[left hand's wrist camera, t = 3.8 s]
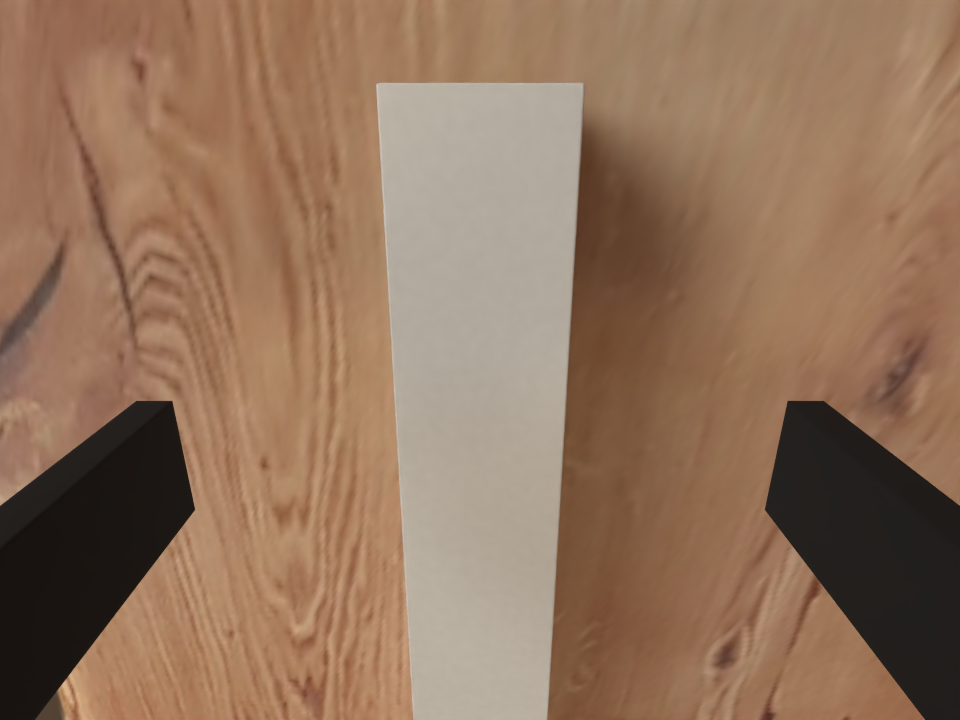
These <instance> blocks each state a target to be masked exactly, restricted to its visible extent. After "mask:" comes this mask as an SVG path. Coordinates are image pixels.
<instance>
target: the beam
mask: <svg viewBox="0 0 960 720" xmlns="http://www.w3.org/2000/svg"><path fill="white" fill-rule="evenodd" d="M376 90H377V107H378V124H379V141H380V158H381V176H382V193H383V210H384V227H385V244H386V261H387V278H388V295H389V312H390V329H391V346H392V363H393V381H394V398H395V415H396V432H397V449H398V466H399V483H400V500H401V517H402V534H403V551H404V568H405V586H406V603H407V620H408V637H409V654H410V671H411V688H412V705H413V720H548V706H549V689H550V672H551V655H552V638H553V621H554V604H555V587H556V570H557V553H558V536H559V519H560V502H561V485H562V468H563V451H564V434H565V417H566V400H567V383H568V366H569V349H570V332H571V315H572V298H573V281H574V264H575V247H576V230H577V213H578V196H579V179H580V162H581V145H582V128H583V111H584V94H585V84H584V83H377V85H376Z"/></svg>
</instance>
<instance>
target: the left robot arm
mask: <svg viewBox="0 0 960 720" xmlns="http://www.w3.org/2000/svg"><path fill="white" fill-rule="evenodd" d="M194 510H195V507H194V502H193V497H192V493H191V488H190V483H189V478H188V474H187V469H186V464H185V459H184V455H183V450H182V445H181V440H180V436H179V431H178V426H177V421H176V417H175V412H174V407H173V402H172V401H136V402H134V403H133V404H132V405H131V406H129V407H128V408H127V409H125V410H124V411H123V412H121V413H120V414H119V415H118V416H116V417H115V418H114V419H112V420H111V421H110V422H109V423H107V424H106V425H105V426H103V427H102V428H101V429H99V430H98V431H97V432H96V433H94V434H93V435H92V436H90V437H89V438H88V439H86V440H85V441H84V442H83V443H81V444H80V445H79V446H77V447H76V448H75V449H73V450H72V451H71V452H70V453H68V454H67V455H66V456H64V457H63V458H62V459H61V460H59V461H58V462H57V463H55V464H54V465H53V466H51V467H50V468H49V469H48V470H46V471H45V472H44V473H42V474H41V475H40V476H38V477H37V478H36V479H35V480H33V481H32V482H31V483H29V484H28V485H27V486H25V487H24V488H23V489H22V490H20V491H19V492H18V493H16V494H15V495H14V496H12V497H11V498H10V499H9V500H7V501H6V502H5V503H3V504H2V505H1V506H0V720H35V719H36V718H37V716H38V715H39V714H40V712H41V711H42V710H43V708H44V707H45V706H46V704H47V703H48V702H49V700H50V699H51V698H52V697H53V695H54V694H55V693H56V691H57V690H58V689H59V687H60V686H61V685H62V683H63V682H64V681H65V680H66V678H67V677H68V676H69V674H70V673H71V672H72V670H73V669H74V668H75V666H76V665H77V664H78V663H79V661H80V660H81V659H82V657H83V656H84V655H85V653H86V652H87V651H88V649H89V648H90V647H91V645H92V644H93V643H94V642H95V640H96V639H97V638H98V636H99V635H100V634H101V632H102V631H103V630H104V628H105V627H106V626H107V625H108V623H109V622H110V621H111V619H112V618H113V617H114V615H115V614H116V613H117V611H118V610H119V609H120V607H121V606H122V605H123V604H124V602H125V601H126V600H127V598H128V597H129V596H130V594H131V593H132V592H133V590H134V589H135V588H136V586H137V585H138V584H139V583H140V581H141V580H142V579H143V577H144V576H145V575H146V573H147V572H148V571H149V569H150V568H151V567H152V566H153V564H154V563H155V562H156V560H157V559H158V558H159V556H160V555H161V554H162V552H163V551H164V550H165V548H166V547H167V546H168V545H169V543H170V542H171V541H172V539H173V538H174V537H175V535H176V534H177V533H178V531H179V530H180V529H181V528H182V526H183V525H184V524H185V522H186V521H187V520H188V518H189V517H190V516H191V514H192V513H193V512H194ZM765 510H766V512H767V513H768V514H769V516H770V517H771V518H772V520H773V521H774V522H775V524H776V525H777V526H778V528H779V529H780V530H781V531H782V533H783V534H784V535H785V537H786V538H787V539H788V541H789V542H790V543H791V545H792V546H793V547H794V548H795V550H796V551H797V552H798V554H799V555H800V556H801V558H802V559H803V560H804V562H805V563H806V564H807V566H808V567H809V568H810V569H811V571H812V572H813V573H814V575H815V576H816V577H817V579H818V580H819V581H820V583H821V584H822V585H823V586H824V588H825V589H826V590H827V592H828V593H829V594H830V596H831V597H832V598H833V600H834V601H835V602H836V604H837V605H838V606H839V607H840V609H841V610H842V611H843V613H844V614H845V615H846V617H847V618H848V619H849V621H850V622H851V623H852V625H853V626H854V627H855V628H856V630H857V631H858V632H859V634H860V635H861V636H862V638H863V639H864V640H865V642H866V643H867V644H868V645H869V647H870V648H871V649H872V651H873V652H874V653H875V655H876V656H877V657H878V659H879V660H880V661H881V663H882V664H883V665H884V666H885V668H886V669H887V670H888V672H889V673H890V674H891V676H892V677H893V678H894V680H895V681H896V682H897V683H898V685H899V686H900V687H901V689H902V690H903V691H904V693H905V694H906V695H907V697H908V698H909V699H910V701H911V702H912V703H913V704H914V706H915V707H916V708H917V710H918V711H919V712H920V714H921V715H922V716H923V718H924V719H925V720H960V506H959V505H958V504H957V503H955V502H954V501H953V500H951V499H950V498H949V497H948V496H946V495H945V494H944V493H942V492H941V491H940V490H938V489H937V488H936V487H935V486H933V485H932V484H931V483H929V482H928V481H927V480H925V479H924V478H923V477H922V476H920V475H919V474H918V473H916V472H915V471H914V470H912V469H911V468H910V467H909V466H907V465H906V464H905V463H903V462H902V461H901V460H899V459H898V458H897V457H896V456H894V455H893V454H892V453H890V452H889V451H888V450H887V449H885V448H884V447H883V446H881V445H880V444H879V443H877V442H876V441H875V440H874V439H872V438H871V437H870V436H868V435H867V434H866V433H864V432H863V431H862V430H861V429H859V428H858V427H857V426H855V425H854V424H853V423H851V422H850V421H849V420H848V419H846V418H845V417H844V416H842V415H841V414H840V413H839V412H837V411H836V410H835V409H833V408H832V407H831V406H829V405H828V404H827V403H826V402H824V401H788V402H787V407H786V412H785V417H784V421H783V426H782V431H781V436H780V440H779V445H778V450H777V455H776V459H775V464H774V469H773V474H772V478H771V483H770V488H769V493H768V497H767V502H766V507H765Z"/></svg>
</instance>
